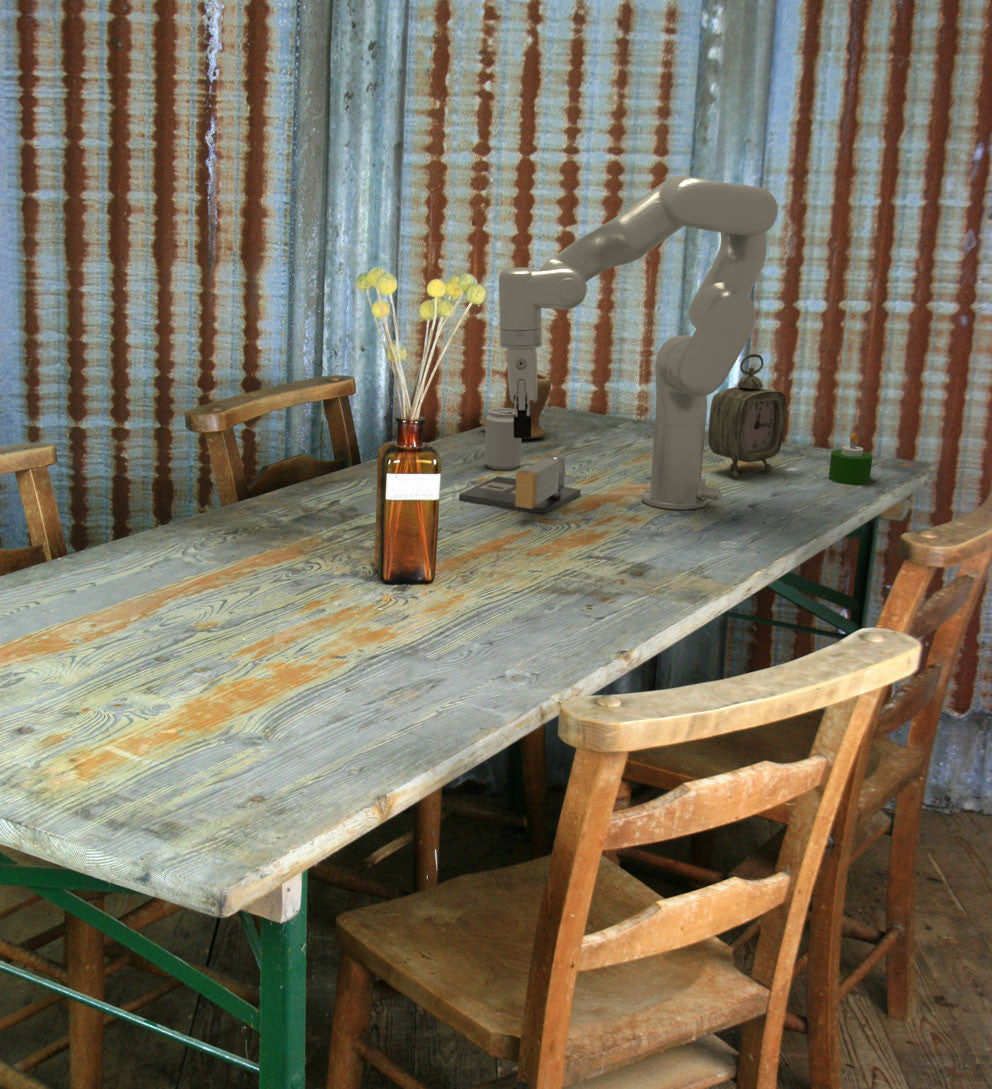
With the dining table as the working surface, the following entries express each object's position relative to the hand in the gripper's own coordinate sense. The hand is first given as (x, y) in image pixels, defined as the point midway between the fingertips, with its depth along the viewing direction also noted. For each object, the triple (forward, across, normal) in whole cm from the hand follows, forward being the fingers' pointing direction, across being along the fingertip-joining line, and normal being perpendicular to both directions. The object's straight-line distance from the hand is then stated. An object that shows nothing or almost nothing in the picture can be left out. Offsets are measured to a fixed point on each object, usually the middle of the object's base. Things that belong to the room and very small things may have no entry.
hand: (522, 436), depth 246 cm
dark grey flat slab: (+13, +5, +1) cm, 14 cm away
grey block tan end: (+10, -5, -3) cm, 12 cm away
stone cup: (+14, +59, +1) cm, 61 cm away
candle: (+17, +28, -67) cm, 75 cm away
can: (+13, +29, +5) cm, 32 cm away
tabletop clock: (+16, +31, -45) cm, 57 cm away
